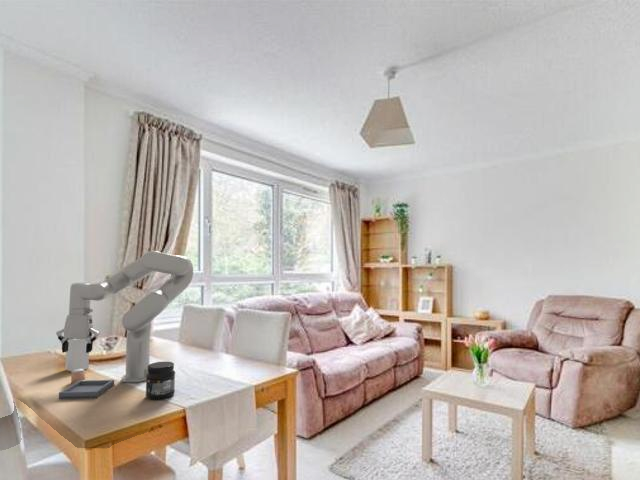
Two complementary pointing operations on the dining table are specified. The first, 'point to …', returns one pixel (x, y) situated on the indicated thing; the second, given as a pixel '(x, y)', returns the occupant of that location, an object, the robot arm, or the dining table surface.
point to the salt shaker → (77, 375)
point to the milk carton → (77, 355)
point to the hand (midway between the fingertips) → (77, 352)
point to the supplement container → (160, 380)
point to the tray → (86, 389)
